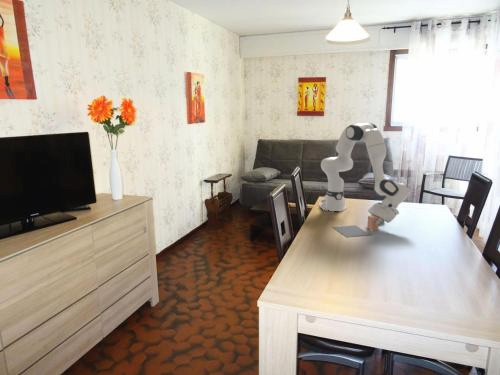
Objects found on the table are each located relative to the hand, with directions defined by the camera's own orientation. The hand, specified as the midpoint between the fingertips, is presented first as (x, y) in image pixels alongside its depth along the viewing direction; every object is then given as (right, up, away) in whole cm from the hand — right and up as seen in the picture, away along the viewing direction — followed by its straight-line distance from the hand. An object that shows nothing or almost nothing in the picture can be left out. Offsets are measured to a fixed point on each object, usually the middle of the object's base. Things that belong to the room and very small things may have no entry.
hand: (372, 222), depth 214 cm
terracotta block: (+1, -4, +1) cm, 4 cm away
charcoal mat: (-14, -5, -3) cm, 15 cm away
